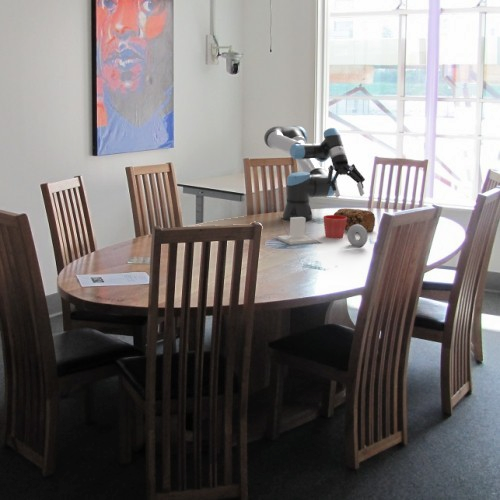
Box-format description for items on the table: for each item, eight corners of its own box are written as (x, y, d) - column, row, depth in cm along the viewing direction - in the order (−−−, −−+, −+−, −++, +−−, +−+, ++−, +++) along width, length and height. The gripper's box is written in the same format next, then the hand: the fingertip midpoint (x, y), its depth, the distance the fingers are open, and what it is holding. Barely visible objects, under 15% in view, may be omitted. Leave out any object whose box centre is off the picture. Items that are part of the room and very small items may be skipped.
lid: (277, 238, 360) (278, 216, 357) (303, 236, 365) (304, 214, 363) (290, 244, 348) (291, 221, 346) (317, 242, 353) (318, 219, 351)
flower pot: (346, 235, 371) (346, 215, 369) (346, 240, 361) (347, 219, 358) (322, 235, 372) (323, 214, 370) (322, 239, 362) (323, 218, 359)
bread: (375, 231, 384) (376, 210, 381) (359, 233, 377) (360, 212, 375) (346, 225, 398) (347, 205, 396) (331, 227, 391) (332, 207, 389)
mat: (272, 239, 361) (272, 237, 361) (303, 236, 368) (303, 235, 368) (290, 247, 345) (290, 245, 345) (323, 244, 352) (323, 243, 352)
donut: (345, 246, 349) (345, 223, 347) (349, 244, 352) (350, 222, 350) (364, 249, 343) (365, 226, 341) (368, 248, 345) (369, 225, 343)
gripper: (319, 154, 389) (331, 193, 382) (363, 152, 399) (375, 190, 392) (313, 162, 396) (324, 200, 388) (356, 160, 406) (368, 197, 398)
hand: (350, 195), depth 390 cm, fingers open, 13 cm apart
